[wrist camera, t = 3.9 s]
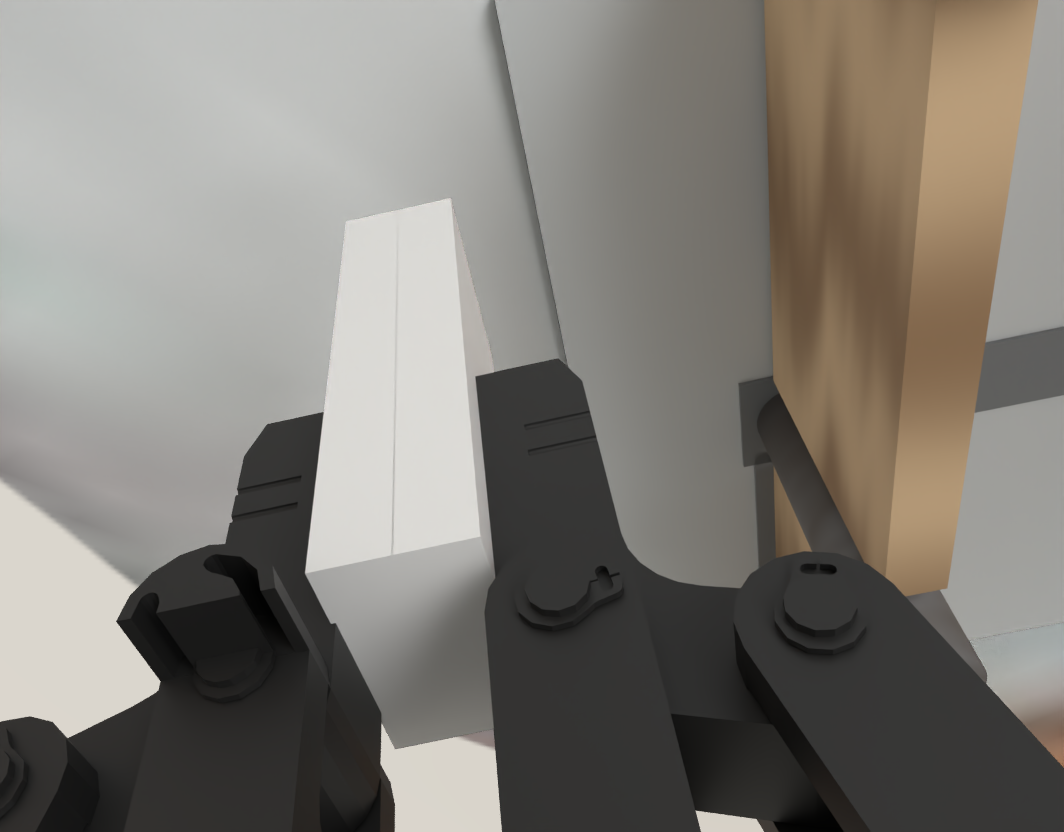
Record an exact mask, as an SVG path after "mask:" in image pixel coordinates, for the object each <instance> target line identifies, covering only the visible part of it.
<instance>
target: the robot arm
mask: <svg viewBox="0 0 1064 832" xmlns="http://www.w3.org/2000/svg"><path fill="white" fill-rule="evenodd" d="M237 490H238V495H236V497H235V502H234V506H233V511H232V520H233V522H232V523H230V525H229V530H228V534H227V539H226V544H219V545H208V546H205V547H203V548H200V549H197V550H194V551H191V552H188V553H185V554H183V555H180V556H178V557H177V558H175V559H173V560H172V561H170V562H169V563H167V564H166V565H164V566H162V567H161V568H159V569H158V570H156V571H155V572H153V573H152V574H151V575H150V576H149V577H148V578H147V579H146V580H145V581H144V582H143V583H142V584H141V585H140V586H139V587H138V588H137V589H136V590H135V591H134V592H133V593H132V594H131V595H130V596H129V599H128V600H127V602H126V604H125V606H124V608H123V609H122V612H121V613H120V615H119V617H118V619H117V621H116V622H117V623H118V624H119V626H120V627H121V628H122V630H123V631H124V633H125V634H126V635H127V637H128V638H129V639H130V641H131V642H132V643H133V645H134V646H135V647H136V649H137V650H138V651H139V653H140V654H141V655H142V657H143V658H144V659H145V661H146V662H147V664H148V665H149V666H150V668H151V669H152V670H153V672H154V673H155V674H156V676H157V677H158V678H159V680H160V681H161V682H160V686H159V691H157V692H156V693H155V694H153V695H151V696H150V697H149V698H146V699H145V700H143V701H142V702H140V703H138V704H136V705H134V706H133V707H131V708H129V709H127V710H125V711H123V712H121V713H119V714H117V715H115V716H112V717H110V718H108V719H106V720H104V721H102V722H100V723H98V724H96V725H94V726H92V727H90V728H88V729H86V730H84V731H82V732H80V733H78V734H76V735H74V736H72V737H69V738H67V737H66V736H65V735H64V734H63V733H62V732H61V731H60V730H59V729H58V728H57V726H56V725H55V724H54V723H53V722H50V721H46V720H42V719H38V718H34V717H24V718H19V719H13V720H7V721H2V722H0V832H394V831H395V803H394V798H393V793H392V788H391V783H390V781H389V779H388V777H387V776H386V774H385V772H384V770H383V768H382V766H381V764H380V757H381V755H380V754H381V722H382V724H383V726H384V728H385V730H386V732H387V734H388V736H389V738H390V740H391V742H392V744H393V746H394V748H395V749H398V748H404V747H408V746H414V745H418V744H423V743H428V742H433V741H438V740H443V739H448V738H453V737H458V736H463V735H468V734H472V733H477V732H482V731H487V730H492V729H494V738H495V751H496V763H497V775H498V788H499V800H500V812H501V824H502V832H701V831H700V827H699V823H698V819H697V815H696V811H704V812H710V813H718V814H725V815H733V816H740V817H746V818H754V819H757V820H758V822H759V824H760V825H761V827H762V829H763V831H764V832H1064V768H1063V767H1062V765H1061V764H1060V763H1059V762H1058V761H1057V760H1056V759H1055V758H1054V757H1053V756H1052V755H1051V754H1050V753H1049V751H1048V750H1047V749H1046V748H1045V747H1044V746H1043V745H1042V744H1041V743H1040V742H1039V741H1038V740H1037V738H1036V737H1035V736H1034V735H1033V734H1032V733H1031V732H1030V731H1029V730H1028V729H1027V728H1026V727H1025V725H1024V724H1023V723H1022V722H1021V721H1020V720H1019V719H1018V718H1017V717H1016V716H1015V715H1014V714H1013V712H1012V711H1011V710H1010V709H1009V708H1008V707H1007V706H1006V705H1005V704H1004V703H1003V702H1002V701H1001V700H1000V698H999V697H998V696H997V695H996V694H995V693H994V692H993V691H992V690H991V689H990V688H989V687H988V685H987V684H986V683H985V682H984V681H983V680H982V679H981V678H980V677H979V676H978V675H977V674H976V672H975V671H974V670H973V669H972V668H971V667H970V666H969V665H968V664H967V663H966V662H965V661H964V660H963V658H962V657H961V656H960V655H959V654H958V653H957V652H956V651H955V650H954V649H953V648H952V647H951V645H950V644H949V643H948V642H947V641H946V640H945V639H944V638H943V637H942V636H941V635H940V634H939V632H938V631H937V630H936V629H935V628H934V627H933V626H932V625H931V624H930V623H929V622H928V621H927V619H926V618H925V617H924V616H923V615H922V614H921V613H920V612H919V611H918V610H917V609H916V608H915V607H914V605H913V604H912V603H911V602H910V601H909V600H908V599H907V598H906V597H905V596H904V595H903V594H902V592H901V591H900V590H899V589H898V588H897V587H896V586H895V585H894V584H893V583H892V582H891V581H889V580H888V579H887V578H885V577H884V576H883V575H882V574H880V573H879V572H878V571H876V570H875V569H874V568H872V567H871V566H870V565H868V564H866V563H864V562H861V561H858V560H855V559H852V558H849V557H846V556H844V555H841V554H838V553H827V552H809V551H803V552H799V553H795V554H790V555H786V556H782V557H778V558H774V559H772V560H771V561H769V562H768V563H766V564H765V565H763V566H762V567H760V568H759V569H757V570H755V571H754V572H752V573H751V574H750V575H749V577H748V578H747V580H746V581H745V583H744V584H743V586H742V587H741V588H730V587H715V586H701V585H695V584H688V583H682V582H677V581H674V580H672V579H669V578H667V577H664V576H661V575H659V574H656V573H655V572H654V571H652V570H651V569H649V568H648V567H646V566H645V565H643V564H642V563H640V562H639V561H638V560H637V558H636V557H635V556H634V555H633V554H632V553H631V552H630V550H629V549H628V547H627V545H626V543H625V541H624V538H623V536H622V534H621V530H620V526H619V522H618V519H617V515H616V511H615V507H614V503H613V499H612V495H611V491H610V487H609V483H608V479H607V476H606V472H605V468H604V464H603V460H602V456H601V452H600V448H599V444H598V441H597V437H596V433H595V429H594V425H593V421H592V417H591V414H590V409H589V405H588V401H587V397H586V393H585V389H584V386H583V382H582V380H581V379H580V378H579V377H578V376H577V375H576V374H575V373H573V372H572V371H571V370H570V369H569V368H568V367H567V366H566V365H565V364H564V363H563V362H562V361H560V360H559V359H553V360H549V361H544V362H539V363H535V364H530V365H526V366H521V367H516V368H512V369H507V370H502V371H498V372H494V366H493V358H492V353H491V349H490V345H489V342H488V338H487V334H486V330H485V326H484V323H483V319H482V315H481V311H480V307H479V303H478V300H477V296H476V292H475V288H474V284H473V281H472V277H471V273H470V269H469V265H468V262H467V258H466V254H465V250H464V246H463V242H462V239H461V235H460V231H459V227H458V223H457V220H456V216H455V212H454V208H453V204H452V200H451V198H448V199H444V200H439V201H435V202H430V203H426V204H421V205H417V206H412V207H408V208H403V209H399V210H394V211H390V212H385V213H381V214H376V215H372V216H367V217H363V218H358V219H354V220H349V221H346V226H345V234H344V243H343V252H342V260H341V269H340V277H339V286H338V294H337V303H336V312H335V320H334V329H333V337H332V346H331V355H330V363H329V372H328V380H327V389H326V398H325V406H324V412H322V413H317V414H313V415H308V416H303V417H299V418H294V419H290V420H285V421H280V422H276V423H271V424H267V425H266V427H265V428H264V430H263V431H262V432H261V434H260V435H259V436H258V438H257V439H256V441H255V442H254V443H253V445H252V446H251V448H250V449H249V450H248V452H247V453H246V455H245V456H244V460H243V464H242V469H241V474H240V478H239V483H238V488H237ZM695 810H696V811H695Z"/></svg>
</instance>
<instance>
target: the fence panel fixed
mask: <svg viewBox="0 0 1064 832" xmlns="http://www.w3.org/2000/svg"><path fill="white" fill-rule="evenodd" d="M757 428H758V432H759V434H760V436H761V439H762V441H763V443H764V445H765V448H766V450H767V452H768V454H769V456H770V459H771V461H772V463H773V465H774V504H775V542H776V558H778V557H782V556H786V555H790V554H795V553H799V552H803V551H809V552H827V553H838V554H841V555H844V556H846V557H849V558H852V559H855V560H858V561H861V562H864V561H863V559H862V557H861V555H860V553H859V551H858V549H857V547H856V545H855V543H854V541H853V539H852V537H851V535H850V533H849V531H848V529H847V527H846V525H845V523H844V521H843V519H842V517H841V515H840V513H839V511H838V509H837V507H836V505H835V503H834V501H833V499H832V497H831V495H830V493H829V491H828V489H827V487H826V485H825V483H824V481H823V479H822V477H821V475H820V473H819V471H818V469H817V467H816V465H815V463H814V461H813V459H812V457H811V455H810V453H809V451H808V449H807V447H806V445H805V443H804V441H803V439H802V437H801V435H800V433H799V431H798V429H797V427H796V425H795V423H794V421H793V419H792V417H791V415H790V413H789V411H788V409H787V407H786V405H785V403H784V401H783V399H782V397H781V395H780V393H779V394H777V395H775V396H774V397H773V398H771V399H770V400H769V401H768V402H767V403H766V404H765V405H764V407H763V408H762V410H761V411H760V413H759V416H758V420H757ZM905 597H906V598H907V599H908V600H909V601H910V602H911V603H912V604H913V605H914V607H915V608H916V609H917V610H918V611H919V612H920V613H921V614H922V615H923V616H924V617H925V618H926V619H927V621H928V622H929V623H930V624H931V625H932V626H933V627H934V628H935V629H936V630H937V631H938V632H939V634H940V635H941V636H942V637H943V638H944V639H945V640H946V641H947V642H948V643H949V644H950V645H951V647H952V648H953V649H954V650H955V651H956V652H957V653H958V654H959V655H960V656H961V657H962V658H963V660H964V661H965V662H966V663H967V664H968V665H969V666H970V667H971V668H972V669H973V670H974V671H975V672H976V674H977V675H978V676H979V677H980V678H981V679H982V680H983V681H984V682H985V683H986V681H987V673H986V670H985V668H984V666H983V665H982V663H981V661H980V659H979V658H978V656H977V654H976V652H975V651H974V649H973V647H972V645H971V644H970V642H969V640H968V638H967V637H966V635H965V633H964V631H963V630H962V628H961V626H960V624H959V622H958V621H957V619H956V617H955V615H954V614H953V612H952V610H951V608H950V607H949V605H948V603H947V601H946V600H945V598H944V596H943V594H942V593H941V591H940V590H936V591H931V592H926V593H921V594H916V595H910V596H905Z"/></svg>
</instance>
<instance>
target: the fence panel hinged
mask: <svg viewBox="0 0 1064 832" xmlns="http://www.w3.org/2000/svg"><path fill="white" fill-rule="evenodd" d="M1037 6H1038V0H764V16H765V57H766V99H767V140H768V181H769V222H770V264H771V305H772V346H773V381H774V383H775V385H776V387H777V389H778V391H779V393H780V395H781V397H782V399H783V401H784V403H785V405H786V407H787V409H788V411H789V413H790V415H791V417H792V419H793V421H794V423H795V425H796V427H797V429H798V431H799V433H800V435H801V437H802V439H803V441H804V443H805V445H806V447H807V449H808V451H809V453H810V455H811V457H812V459H813V461H814V463H815V465H816V467H817V469H818V471H819V473H820V475H821V477H822V479H823V481H824V483H825V485H826V487H827V489H828V491H829V493H830V495H831V497H832V499H833V501H834V503H835V505H836V507H837V509H838V511H839V513H840V515H841V517H842V519H843V521H844V523H845V525H846V527H847V529H848V531H849V533H850V535H851V537H852V539H853V541H854V543H855V545H856V547H857V549H858V551H859V553H860V555H861V557H862V559H863V561H864V563H866V564H868V565H870V566H871V567H872V568H874V569H875V570H876V571H878V572H879V573H880V574H882V575H883V576H884V577H885V578H887V579H888V580H889V581H891V582H892V583H893V584H894V585H895V586H896V587H897V588H898V589H899V590H900V591H901V592H902V594H903V595H904V596H910V595H916V594H921V593H926V592H931V591H936V590H942V589H947V587H948V581H949V574H950V568H951V561H952V555H953V549H954V542H955V536H956V529H957V523H958V516H959V510H960V503H961V497H962V490H963V484H964V477H965V471H966V465H967V458H968V452H969V445H970V439H971V432H972V426H973V419H974V413H975V406H976V400H977V393H978V387H979V381H980V374H981V368H982V361H983V355H984V348H985V342H986V335H987V329H988V322H989V316H990V309H991V303H992V297H993V290H994V284H995V277H996V271H997V264H998V258H999V251H1000V245H1001V238H1002V232H1003V225H1004V219H1005V213H1006V206H1007V200H1008V193H1009V187H1010V180H1011V174H1012V167H1013V161H1014V154H1015V148H1016V141H1017V135H1018V129H1019V122H1020V116H1021V109H1022V103H1023V96H1024V90H1025V83H1026V77H1027V70H1028V64H1029V57H1030V51H1031V45H1032V38H1033V32H1034V25H1035V19H1036V12H1037Z"/></svg>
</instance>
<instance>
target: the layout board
mask: <svg viewBox="0 0 1064 832" xmlns="http://www.w3.org/2000/svg"><path fill="white" fill-rule="evenodd" d="M495 5H496V10H497V15H498V20H499V25H500V30H501V35H502V40H503V45H504V50H505V55H506V60H507V65H508V70H509V75H510V80H511V85H512V90H513V95H514V100H515V105H516V110H517V115H518V120H519V125H520V130H521V135H522V140H523V145H524V150H525V155H526V160H527V165H528V170H529V175H530V180H531V185H532V190H533V195H534V200H535V205H536V210H537V215H538V220H539V225H540V230H541V235H542V240H543V245H544V250H545V255H546V260H547V265H548V270H549V275H550V280H551V285H552V290H553V295H554V300H555V305H556V310H557V315H558V320H559V325H560V330H561V335H562V340H563V345H564V350H565V355H566V360H567V364H568V368H569V369H570V370H571V371H572V372H573V373H575V374H576V375H577V376H578V377H579V378H580V379H581V380H582V382H583V386H584V389H585V393H586V397H587V401H588V405H589V409H590V414H591V417H592V421H593V425H594V429H595V433H596V437H597V441H598V444H599V448H600V452H601V456H602V460H603V464H604V468H605V472H606V476H607V479H608V483H609V487H610V491H611V495H612V499H613V503H614V507H615V511H616V515H617V519H618V522H619V526H620V530H621V534H622V536H623V538H624V541H625V543H626V545H627V547H628V549H629V550H630V552H631V553H632V554H633V555H634V556H635V557H636V558H637V560H638V561H639V562H640V563H642V564H643V565H645V566H646V567H648V568H649V569H651V570H652V571H654V572H655V573H656V574H659V575H661V576H664V577H667V578H669V579H672V580H674V581H677V582H682V583H688V584H695V585H701V586H715V587H730V588H741V587H742V586H743V584H744V583H745V581H746V580H747V578H748V577H749V575H750V574H751V573H752V572H754V571H755V570H757V569H759V568H760V567H762V566H763V565H765V564H766V563H768V562H769V561H771V560H772V559H774V558H776V542H775V504H774V465H773V463H772V461H771V459H770V456H769V454H768V452H767V450H766V448H765V445H764V443H763V441H762V439H761V436H760V434H759V432H758V428H757V420H758V416H759V413H760V411H761V410H762V408H763V407H764V405H765V404H766V403H767V402H768V401H769V400H770V399H771V398H773V397H774V396H775V395H777V394H779V391H778V389H777V387H776V385H775V383H774V381H773V346H772V305H771V264H770V222H769V181H768V140H767V99H766V57H765V16H764V0H495ZM940 591H941V593H942V594H943V596H944V598H945V600H946V601H947V603H948V605H949V607H950V608H951V610H952V612H953V614H954V615H955V617H956V619H957V621H958V622H959V624H960V626H961V628H962V630H963V631H964V633H965V635H966V637H967V638H968V640H974V639H979V638H984V637H990V636H995V635H1000V634H1006V633H1011V632H1016V631H1022V630H1027V629H1032V628H1037V627H1043V626H1048V625H1053V624H1059V623H1064V0H1038V6H1037V12H1036V19H1035V25H1034V32H1033V38H1032V45H1031V51H1030V57H1029V64H1028V70H1027V77H1026V83H1025V90H1024V96H1023V103H1022V109H1021V116H1020V122H1019V129H1018V135H1017V141H1016V148H1015V154H1014V161H1013V167H1012V174H1011V180H1010V187H1009V193H1008V200H1007V206H1006V213H1005V219H1004V225H1003V232H1002V238H1001V245H1000V251H999V258H998V264H997V271H996V277H995V284H994V290H993V297H992V303H991V309H990V316H989V322H988V329H987V335H986V342H985V348H984V355H983V361H982V368H981V374H980V381H979V387H978V393H977V400H976V406H975V413H974V419H973V426H972V432H971V439H970V445H969V452H968V458H967V465H966V471H965V477H964V484H963V490H962V497H961V503H960V510H959V516H958V523H957V529H956V536H955V542H954V549H953V555H952V561H951V568H950V574H949V581H948V587H947V589H942V590H940Z"/></svg>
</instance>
